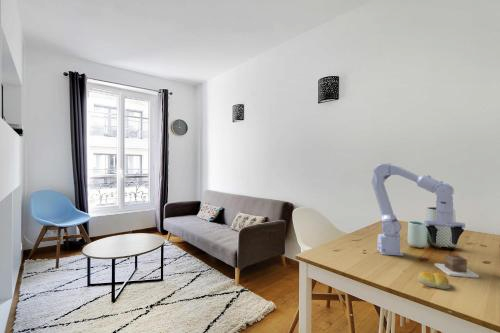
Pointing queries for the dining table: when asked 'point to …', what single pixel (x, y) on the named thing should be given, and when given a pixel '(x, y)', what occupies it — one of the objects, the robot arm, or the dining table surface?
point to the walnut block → (456, 263)
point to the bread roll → (434, 280)
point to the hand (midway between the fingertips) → (444, 243)
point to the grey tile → (453, 273)
